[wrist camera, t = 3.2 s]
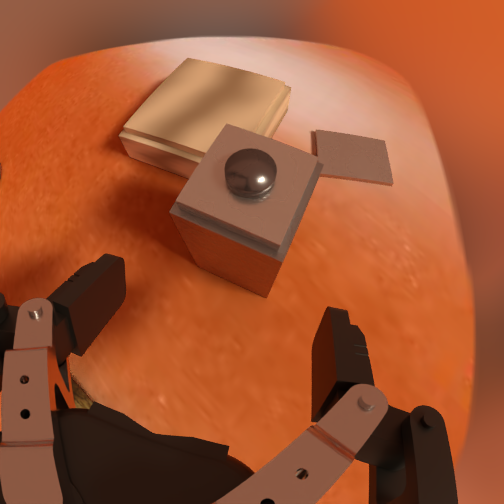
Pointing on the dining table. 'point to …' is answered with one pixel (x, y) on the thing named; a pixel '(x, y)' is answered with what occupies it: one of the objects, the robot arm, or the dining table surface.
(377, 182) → the cover plate
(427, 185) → the dining table surface
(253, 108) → the stand
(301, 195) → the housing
